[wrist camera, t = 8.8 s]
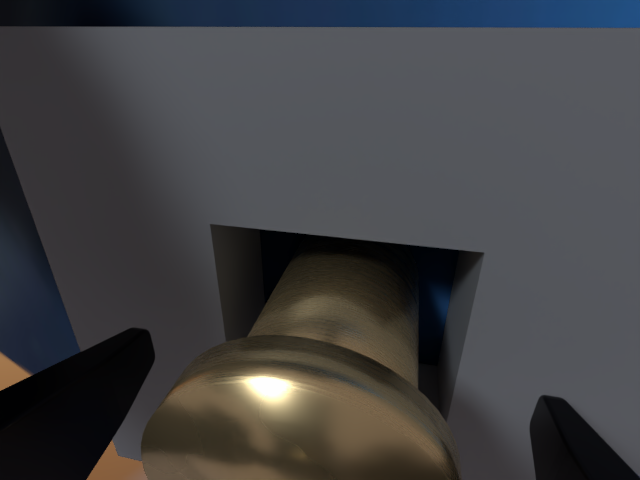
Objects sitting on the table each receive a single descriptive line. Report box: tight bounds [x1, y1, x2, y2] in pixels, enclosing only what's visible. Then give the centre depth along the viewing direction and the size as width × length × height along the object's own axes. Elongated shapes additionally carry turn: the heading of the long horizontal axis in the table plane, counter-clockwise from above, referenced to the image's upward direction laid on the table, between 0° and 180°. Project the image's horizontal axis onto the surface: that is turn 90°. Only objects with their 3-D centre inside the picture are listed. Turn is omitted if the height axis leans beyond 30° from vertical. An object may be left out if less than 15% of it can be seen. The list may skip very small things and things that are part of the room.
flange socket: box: [0, 26, 640, 480], centre depth 11 cm, size 16×14×3 cm
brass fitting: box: [141, 234, 462, 480], centre depth 10 cm, size 5×5×7 cm
